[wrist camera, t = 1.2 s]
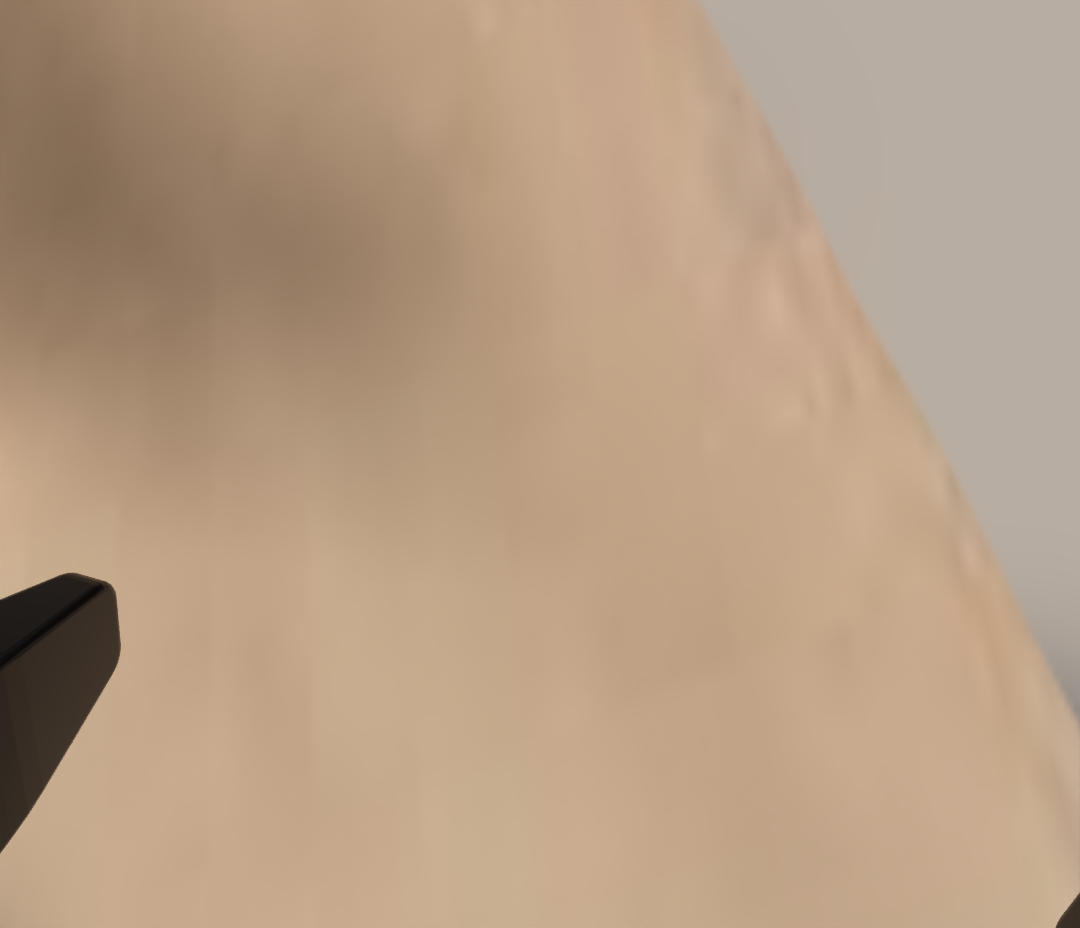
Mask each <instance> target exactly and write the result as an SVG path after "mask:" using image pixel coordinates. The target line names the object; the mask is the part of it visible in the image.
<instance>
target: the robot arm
mask: <svg viewBox="0 0 1080 928" xmlns="http://www.w3.org/2000/svg"><path fill="white" fill-rule="evenodd" d="M120 650H121V642H120V631H119V620H118V609H117V598H116V592H115V590H114V588H113V587H112V585H111V584H109V583H108V582H106V581H102V580H99V579H95V578H92V577H88V576H85V575H81V574H77V573H66V574H63V575H59V576H57V577H54V578H52V579H49V580H47V581H45V582H42V583H40V584H37V585H35V586H32V587H30V588H27V589H25V590H22V591H20V592H18V593H15V594H13V595H10V596H8V597H5V598H3V599H0V853H1V852H2V850H3V849H4V848H5V846H6V845H7V844H8V842H9V841H10V840H11V838H12V837H13V835H14V834H15V833H16V831H17V830H18V828H19V827H20V826H21V824H22V823H23V821H24V820H25V818H26V817H27V816H28V814H29V813H30V811H31V810H32V808H33V806H34V805H35V803H36V802H37V800H38V798H39V797H40V795H41V794H42V792H43V791H44V789H45V787H46V786H47V784H48V782H49V781H50V779H51V777H52V775H53V774H54V772H55V770H56V769H57V767H58V765H59V764H60V762H61V760H62V759H63V757H64V755H65V754H66V752H67V750H68V748H69V747H70V745H71V743H72V742H73V740H74V738H75V737H76V735H77V733H78V732H79V730H80V728H81V727H82V725H83V723H84V722H85V720H86V718H87V716H88V715H89V713H90V711H91V710H92V708H93V706H94V705H95V703H96V701H97V700H98V698H99V696H100V695H101V693H102V691H103V689H104V688H105V686H106V684H107V683H108V681H109V679H110V678H111V676H112V674H113V672H114V670H115V668H116V666H117V663H118V660H119V657H120ZM1056 928H1080V893H1079V894H1078V896H1077V897H1076V898H1075V899H1074V901H1073V902H1072V903H1071V905H1070V906H1069V907H1068V909H1067V910H1066V911H1065V912H1064V914H1063V915H1062V916H1061V918H1060V919H1059V921H1058V923H1057V925H1056Z"/></svg>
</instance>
